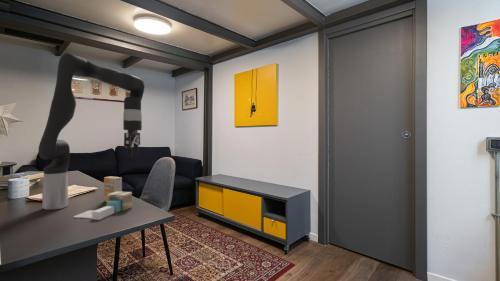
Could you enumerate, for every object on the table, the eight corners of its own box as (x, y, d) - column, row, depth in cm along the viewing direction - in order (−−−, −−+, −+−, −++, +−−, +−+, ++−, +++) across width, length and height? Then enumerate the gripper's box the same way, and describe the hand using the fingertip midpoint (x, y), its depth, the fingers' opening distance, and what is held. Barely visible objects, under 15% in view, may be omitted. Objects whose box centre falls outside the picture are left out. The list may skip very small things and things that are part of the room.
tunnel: (107, 209, 117) (107, 194, 116) (116, 206, 123) (116, 191, 122) (124, 210, 116) (123, 195, 115) (131, 206, 121) (131, 192, 121)
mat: (72, 217, 106) (72, 216, 106) (89, 211, 115) (89, 210, 115) (91, 218, 105) (91, 217, 105) (106, 212, 113) (106, 211, 113)
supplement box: (103, 201, 131) (103, 177, 130) (111, 199, 135) (111, 175, 135) (114, 203, 128) (114, 178, 127) (122, 200, 132) (122, 176, 132)
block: (106, 212, 113) (106, 201, 113) (113, 209, 118) (113, 198, 118) (116, 212, 113) (116, 202, 113) (123, 209, 118) (123, 199, 118)
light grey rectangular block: (92, 219, 104) (92, 211, 104) (107, 213, 113) (107, 205, 113) (99, 220, 103) (99, 212, 103) (114, 213, 112) (114, 205, 112)
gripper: (129, 120, 118) (129, 153, 118) (117, 118, 104) (117, 156, 104) (145, 120, 119) (145, 154, 119) (136, 119, 105) (136, 156, 105)
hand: (132, 155), depth 112 cm, fingers open, 8 cm apart
